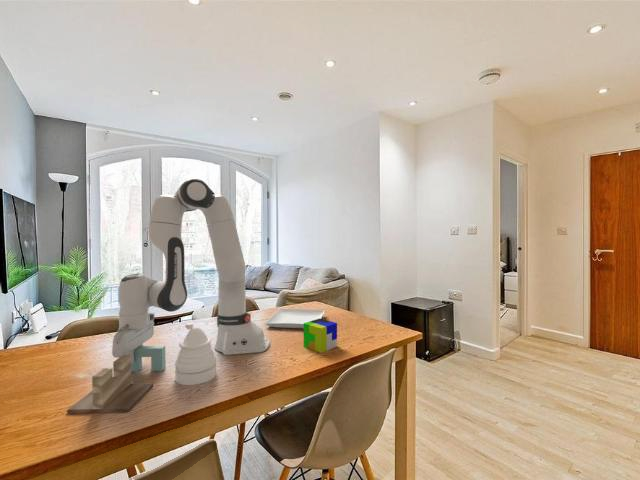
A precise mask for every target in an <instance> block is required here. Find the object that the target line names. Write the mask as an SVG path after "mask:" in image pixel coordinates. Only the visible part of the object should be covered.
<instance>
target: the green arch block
mask: <svg viewBox="0 0 640 480" xmlns="http://www.w3.org/2000/svg"><path fill="white" fill-rule="evenodd" d="M133 355H134V356H135V361H134V362H133V363H131V372H139V371H141V370H142V369H143V358H151V359H150V366H151V367H150V368H151V372H163V371H164V370H165V369H166V367H167V366H166V345H143V346H139V347H138V348H136V349H135V350H134V353H133Z"/></svg>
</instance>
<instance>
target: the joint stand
mask: <svg viewBox="0 0 640 480" xmlns="http://www.w3.org/2000/svg"><path fill="white" fill-rule="evenodd" d="M112 363H113V364H112V365H113V366H112V367H113V368H102V369H101V370H99V371H97V372H96V373H95V374H94V375H92V376H91V380H92V381H91V383H92V385H91V386H92V390H91V391H90V392H89V393H87V394H86V395H85V396H83V397H82V398H81V399H80V400H78V401H77V402H75V403H74V404H72V405H71V406H70V407H69V408H68V409H67V410H66V411H67V414H96V413H97V414H101V413H129V412H130V411H131V410H132V409H133V408H134V407H135V406H136V405H137V404H138V403H139V402H140V400H142V399H143V397H145V395H147V393H148V392H149V391H150V390H151V389H153V387H154V383H152V382H151V383H150V382H146V383H144V382H143V383H138V382H137V383H132V371H131V355H122V356H121V357H119V358H116V359H115V360H114V361H113V362H112Z"/></svg>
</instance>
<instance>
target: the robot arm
mask: <svg viewBox="0 0 640 480" xmlns="http://www.w3.org/2000/svg"><path fill="white" fill-rule="evenodd" d="M229 203H230V202H229V200H228V198H226V196H224V195H222V194H215V192H214V191H213V190H212V189H211V187H209V185H208V184H207V183H206V182H205V181H203V180H202V179H200V178H189V179H186V180H185V181H183V183H181V184H180V186H179V187H178V188H177V190H176V191H175V193H174V194H173V195H172V194H171V195H170V194H162V195H158V196H157V197H156V198H155V199H154V202H153V205H152V208H151V211H150V217H149V223H148V239H149V240H150V242H151V244H153V245H154V246H155V247H156V248H158V249H159V250H160V251H161V252H162V254H163V255H164V258H165V280H159V279H156V278H152V277H150V276H148V275H146V274H145V273H139V272H138V273H131V274H128V275H126V276H124V277H123V278H121V280H120V282H119V286H118V304H119V311H118V325H119V326H118V329H117V332H116V333H115V334H114V336H113V337H112V338H113V339H112V348H111V349H112V353H111V355H112V356H113V357H114V358H116V359H118V358H120V357H121V356H122V355H131V363H133V362H134V361H135V356H134V355H133V353H134V350H135V349H136V348H138V347H139V346H144V344H145V343H146V342H148V341H149V340H151V339H152V338H153V336H154V332H155V331H154V330H155V321H154V320H155V313H154V312H153V313H152V312H151V313H150V312H149V308H150V307H154V308H158V309H162V310H164V311H165V312H170V313H171V312H176V311H179V310H180V309H181V308H182V307H183V306H184V305H185V303H186V301H187V299H188V290H187V287H186V286H187V285H186V280H185V273H186V271H185V246H184V242H183V239H182V225H183V224H182V223H183V217H184V214H185V212H193V211H197V210H200V211H201V213H202V214H203V216H204V217H205V223H206V227H207V230H208V234H209V238H210V242H211V248H212V252H213V258H214V262H215V268H216V272H217V274H218V288H217V289H218V290H217V291H218V293H217V299H218V300H217V301H218V303H217V304H218V305H217V307H218V313H217V315H216V316H217V317H216V327H217V336H216V340H215V345H214V350H215V351H217V352H219V353H222V354H223V355H225V356H230V355H233V356H234V355H241V354H254V353H263V352H265V351H266V350H268V349H269V347H270V339H269V338H267V337H265V333H264V330H263V328H262V327H260V326H259V325H257V324H256V323H254V322H253V321H252V319H251V317H252V316H251V314H252V313H251V312H247V311H246V310H247V308H246V306H247V305H246V300H247V299H246V298H247V297H246V293H247V291H246V272H247V271H246V270H247V268H246V267H247V266H246V262H245V259H244V254H243V251H242V250H243V249H242V246H241V242H240V238H239V234H238V230H237V226H236V225H237V224H236V222H235V218H234V214H233V210H232V208H231V206H230V205H231V204H229Z"/></svg>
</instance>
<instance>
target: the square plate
mask: <svg viewBox="0 0 640 480" xmlns="http://www.w3.org/2000/svg"><path fill="white" fill-rule="evenodd" d="M325 313H326V310H320V309H307V308H306V309H305V308H303V309H302V308H279V309H277V310H276V311H274V313H273V314H272V315H271V316H270V317H269V318H268V319H267V320H266V321H265V322H264V324H265V325H266V326H267V327H271V328H281V329H282V328H283V329H301V330H302V329H303V330H304V323H306V322H309V321H313V320H316V319H319V318H320V319H323V316H324V314H325Z"/></svg>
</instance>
